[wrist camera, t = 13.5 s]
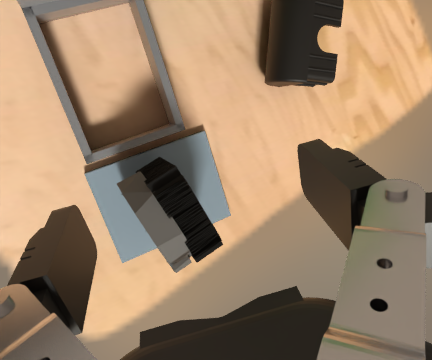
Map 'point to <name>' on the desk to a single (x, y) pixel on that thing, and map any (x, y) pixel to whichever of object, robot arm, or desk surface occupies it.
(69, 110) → the open rectangular frame
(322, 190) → the robot arm
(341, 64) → the desk surface
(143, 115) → the desk surface
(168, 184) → the cpu cooler
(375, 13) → the desk surface
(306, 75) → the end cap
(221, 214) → the rubber mat
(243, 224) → the desk surface
